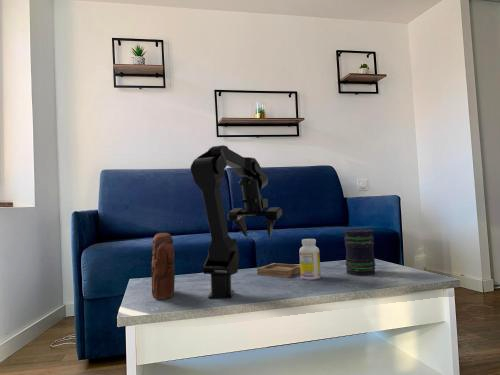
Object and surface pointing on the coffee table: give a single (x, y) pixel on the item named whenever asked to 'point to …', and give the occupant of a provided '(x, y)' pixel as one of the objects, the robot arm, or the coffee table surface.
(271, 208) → the robot arm
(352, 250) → the storage jar
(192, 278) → the coffee table surface
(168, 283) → the wooden figurine
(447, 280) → the coffee table surface
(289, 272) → the walnut tray
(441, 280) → the coffee table surface
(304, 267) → the supplement bottle
